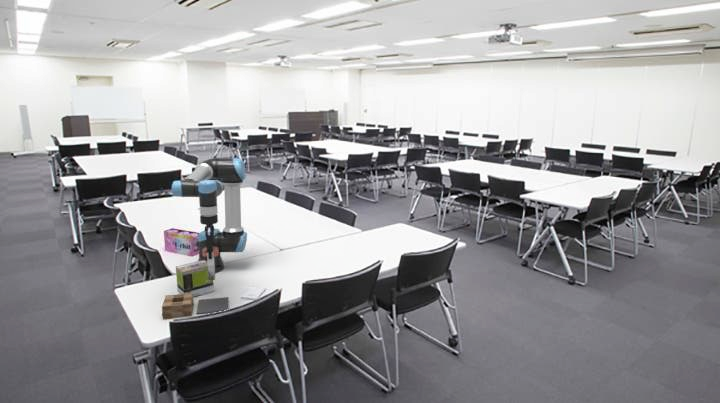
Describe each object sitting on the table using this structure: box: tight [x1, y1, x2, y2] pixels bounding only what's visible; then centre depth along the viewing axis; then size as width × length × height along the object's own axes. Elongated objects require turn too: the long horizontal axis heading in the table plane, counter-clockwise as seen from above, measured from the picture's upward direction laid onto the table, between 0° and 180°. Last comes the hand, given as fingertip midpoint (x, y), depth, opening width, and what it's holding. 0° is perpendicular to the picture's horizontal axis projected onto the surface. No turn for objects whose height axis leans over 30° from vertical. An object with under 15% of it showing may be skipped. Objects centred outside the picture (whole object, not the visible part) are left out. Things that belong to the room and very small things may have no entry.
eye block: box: [161, 293, 195, 320], centre depth 195 cm, size 12×12×6 cm
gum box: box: [163, 227, 200, 257], centre depth 271 cm, size 24×8×14 cm, turn 68°
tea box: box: [175, 260, 215, 298], centre depth 215 cm, size 15×10×15 cm, turn 131°
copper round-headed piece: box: [202, 247, 219, 282], centre depth 198 cm, size 7×7×15 cm
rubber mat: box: [195, 296, 230, 316], centre depth 202 cm, size 14×14×1 cm
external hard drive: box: [240, 286, 267, 301], centre depth 216 cm, size 2×8×12 cm
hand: (211, 262), depth 197 cm, fingers closed on copper round-headed piece, 7 cm apart
